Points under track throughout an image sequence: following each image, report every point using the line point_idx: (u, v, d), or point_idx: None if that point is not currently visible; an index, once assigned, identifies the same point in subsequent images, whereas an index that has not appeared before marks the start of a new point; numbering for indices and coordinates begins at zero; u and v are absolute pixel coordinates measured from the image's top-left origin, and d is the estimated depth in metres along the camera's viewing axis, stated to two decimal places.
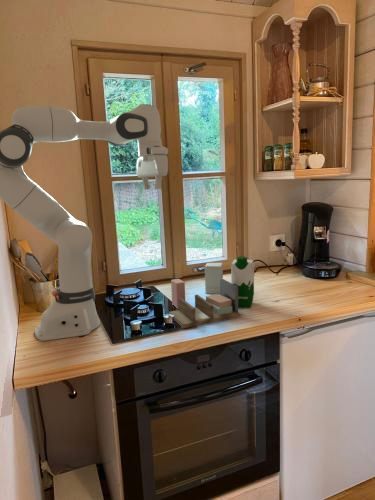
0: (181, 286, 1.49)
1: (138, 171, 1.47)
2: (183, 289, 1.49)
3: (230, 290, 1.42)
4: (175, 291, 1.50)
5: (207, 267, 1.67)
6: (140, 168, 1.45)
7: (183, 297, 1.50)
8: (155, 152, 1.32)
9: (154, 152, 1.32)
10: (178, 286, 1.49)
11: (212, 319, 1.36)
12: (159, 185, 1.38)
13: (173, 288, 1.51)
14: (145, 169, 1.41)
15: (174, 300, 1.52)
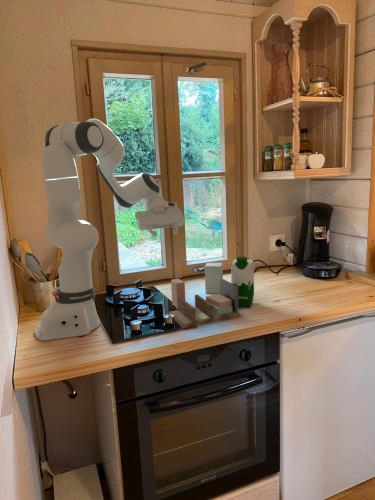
0: (181, 286, 1.49)
1: (143, 220, 1.58)
2: (183, 289, 1.49)
3: (230, 290, 1.42)
4: (175, 291, 1.50)
5: (207, 267, 1.67)
6: (148, 218, 1.59)
7: (183, 297, 1.50)
8: None
9: None
10: (178, 286, 1.49)
11: (212, 319, 1.36)
12: None
13: (173, 288, 1.51)
14: (159, 218, 1.61)
15: (174, 300, 1.52)
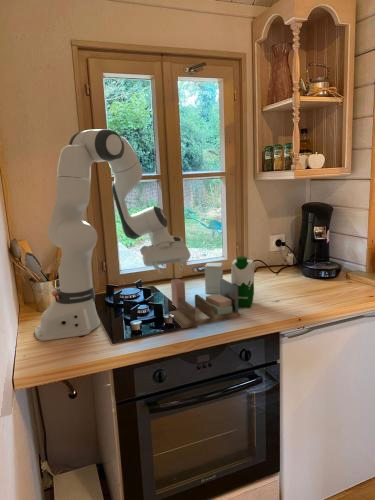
0: (181, 286, 1.49)
1: (149, 256, 1.56)
2: (183, 289, 1.49)
3: (230, 290, 1.42)
4: (175, 291, 1.50)
5: (207, 267, 1.67)
6: (153, 254, 1.57)
7: (183, 297, 1.50)
8: (182, 241, 1.65)
9: (182, 241, 1.65)
10: (178, 286, 1.49)
11: (212, 319, 1.36)
12: None
13: (173, 288, 1.51)
14: (165, 254, 1.59)
15: (174, 300, 1.52)
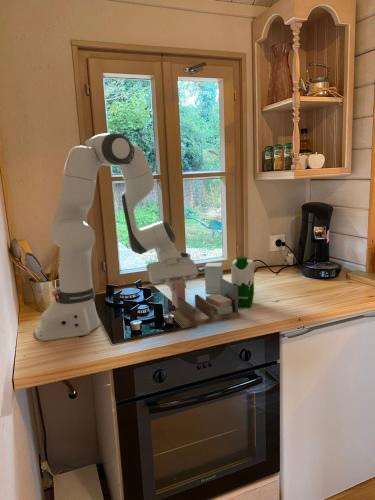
0: (181, 285, 1.49)
1: (155, 274, 1.50)
2: (183, 289, 1.49)
3: (230, 290, 1.42)
4: (175, 291, 1.50)
5: (207, 267, 1.67)
6: (160, 271, 1.52)
7: (183, 297, 1.50)
8: None
9: None
10: (178, 286, 1.49)
11: (212, 319, 1.36)
12: None
13: None
14: (172, 271, 1.53)
15: (174, 300, 1.52)
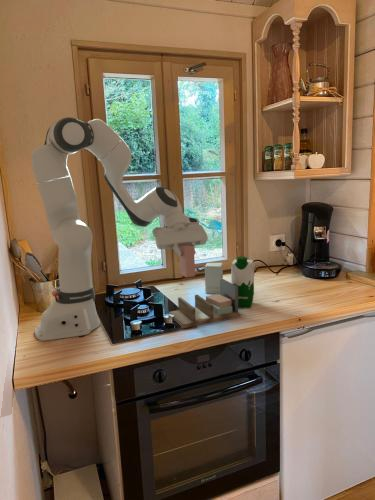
0: (191, 251, 1.38)
1: (163, 238, 1.40)
2: (192, 254, 1.39)
3: (230, 290, 1.42)
4: (184, 257, 1.39)
5: (207, 267, 1.67)
6: (167, 236, 1.41)
7: (192, 263, 1.40)
8: None
9: None
10: (187, 251, 1.38)
11: (212, 319, 1.36)
12: None
13: None
14: (180, 236, 1.43)
15: (183, 267, 1.41)
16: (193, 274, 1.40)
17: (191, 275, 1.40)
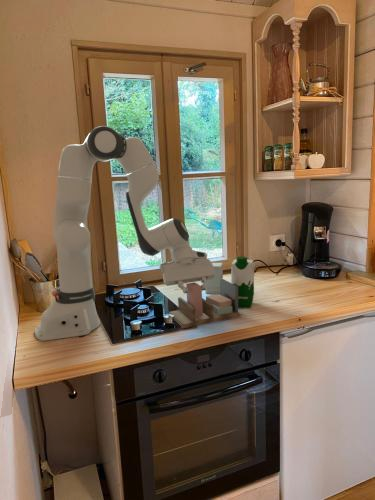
0: (198, 290, 1.36)
1: (170, 275, 1.38)
2: (200, 294, 1.37)
3: (230, 290, 1.42)
4: (191, 296, 1.37)
5: None
6: (175, 272, 1.39)
7: (200, 303, 1.37)
8: (206, 257, 1.47)
9: None
10: (195, 291, 1.36)
11: (212, 319, 1.36)
12: None
13: (189, 292, 1.39)
14: (188, 271, 1.41)
15: None
16: (201, 313, 1.38)
17: (199, 314, 1.38)
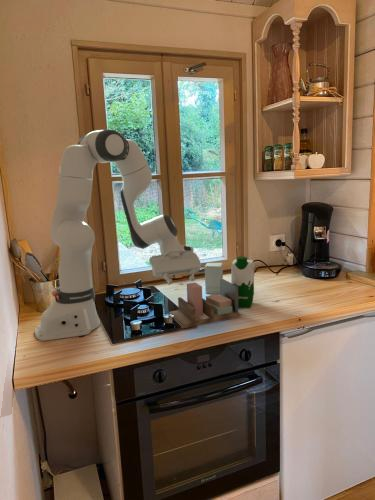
0: (199, 290, 1.36)
1: (159, 267, 1.50)
2: (200, 294, 1.37)
3: (230, 290, 1.42)
4: (191, 296, 1.37)
5: (207, 267, 1.67)
6: (163, 264, 1.51)
7: (200, 303, 1.38)
8: None
9: (193, 250, 1.58)
10: (195, 291, 1.36)
11: (212, 319, 1.36)
12: None
13: (189, 292, 1.39)
14: (175, 264, 1.52)
15: None
16: (201, 313, 1.38)
17: (199, 314, 1.38)
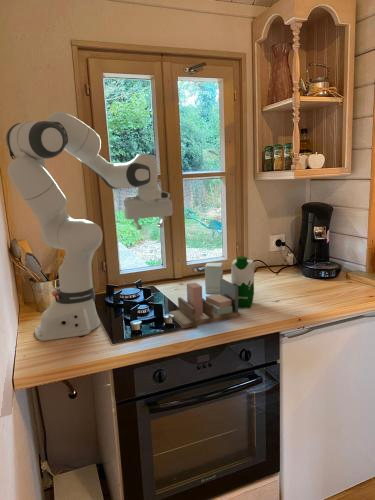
0: (199, 290, 1.36)
1: (132, 213, 1.51)
2: (200, 294, 1.37)
3: (230, 290, 1.42)
4: (191, 296, 1.37)
5: (207, 267, 1.67)
6: (136, 210, 1.52)
7: (200, 303, 1.38)
8: None
9: None
10: (195, 291, 1.36)
11: (212, 319, 1.36)
12: None
13: (189, 292, 1.39)
14: (148, 211, 1.54)
15: None
16: (201, 313, 1.38)
17: (199, 314, 1.38)
